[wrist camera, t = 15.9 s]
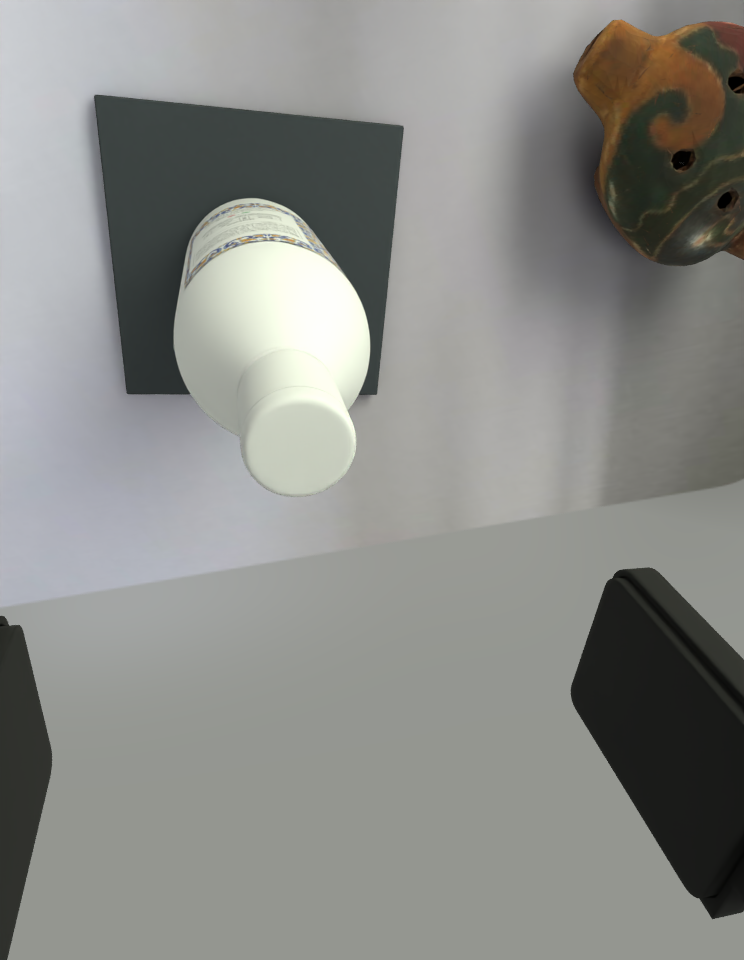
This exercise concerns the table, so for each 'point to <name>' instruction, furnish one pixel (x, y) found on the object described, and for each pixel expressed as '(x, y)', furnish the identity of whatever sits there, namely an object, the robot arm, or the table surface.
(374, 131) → the mat
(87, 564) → the table surface
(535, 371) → the table surface
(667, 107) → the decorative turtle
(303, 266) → the bath foam
